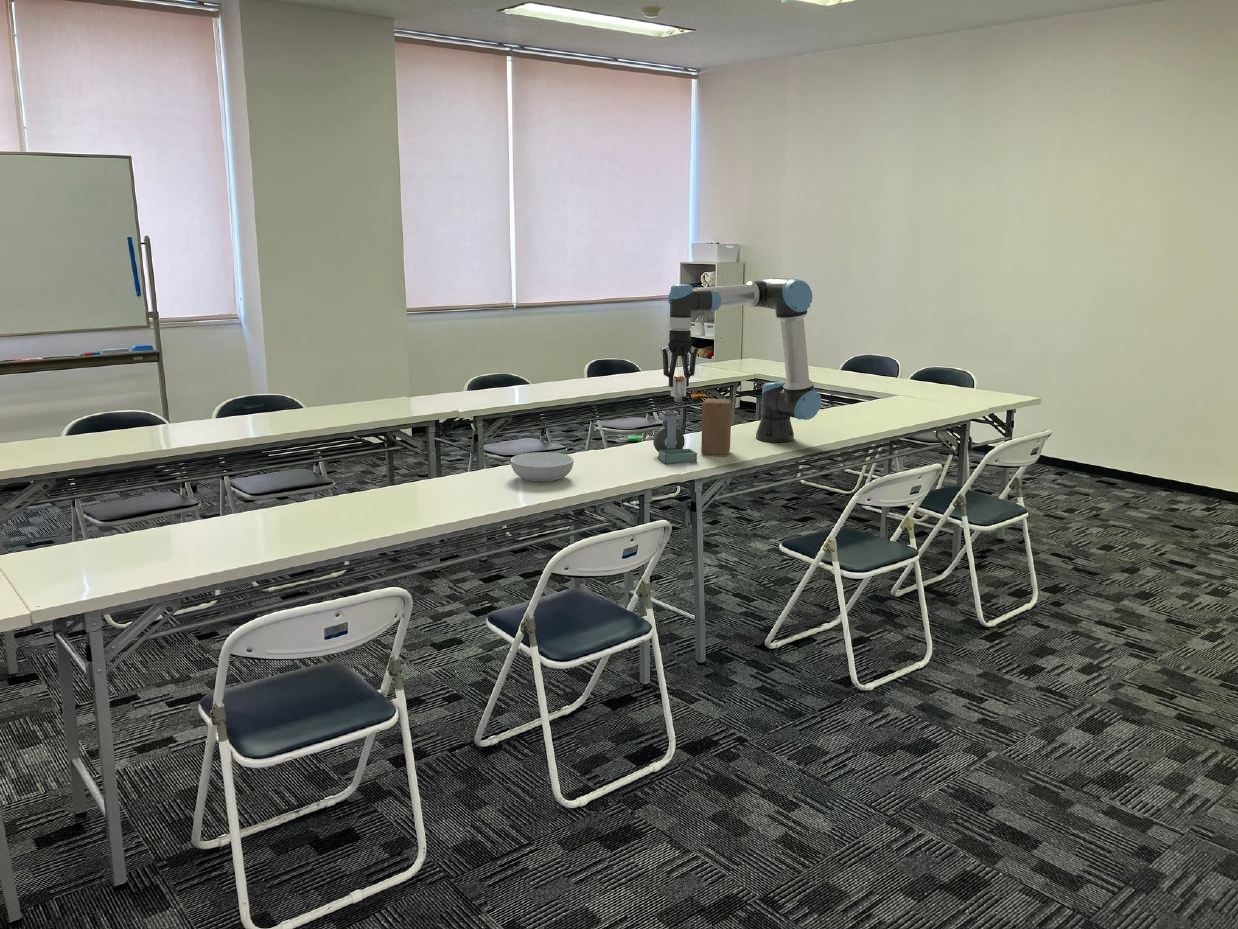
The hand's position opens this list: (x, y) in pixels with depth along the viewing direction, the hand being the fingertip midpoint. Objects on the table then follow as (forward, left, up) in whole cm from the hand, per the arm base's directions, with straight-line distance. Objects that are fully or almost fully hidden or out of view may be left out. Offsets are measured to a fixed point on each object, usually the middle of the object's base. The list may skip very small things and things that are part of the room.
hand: (678, 395), depth 330 cm
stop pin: (0, 0, -2) cm, 2 cm away
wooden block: (-18, -9, -24) cm, 31 cm away
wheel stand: (0, -9, -24) cm, 25 cm away
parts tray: (0, 0, -24) cm, 24 cm away
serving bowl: (+52, +14, -24) cm, 59 cm away
